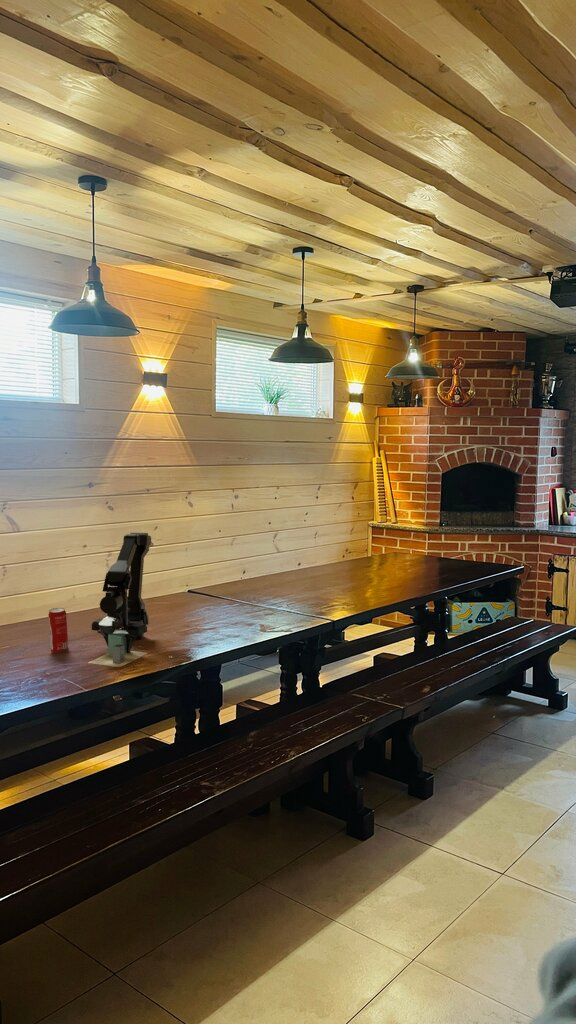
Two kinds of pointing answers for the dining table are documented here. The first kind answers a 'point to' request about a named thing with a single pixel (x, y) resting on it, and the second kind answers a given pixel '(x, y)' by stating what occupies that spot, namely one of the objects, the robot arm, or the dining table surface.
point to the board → (108, 661)
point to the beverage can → (58, 630)
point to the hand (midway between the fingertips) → (119, 651)
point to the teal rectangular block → (116, 640)
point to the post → (118, 654)
